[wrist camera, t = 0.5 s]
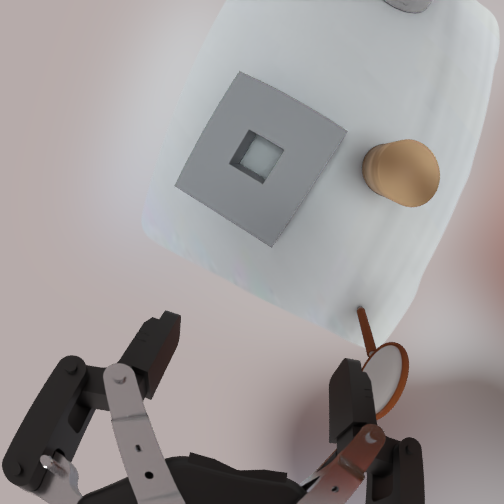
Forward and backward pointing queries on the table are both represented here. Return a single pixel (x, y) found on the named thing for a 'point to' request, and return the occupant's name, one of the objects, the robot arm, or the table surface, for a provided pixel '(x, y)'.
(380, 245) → the table surface
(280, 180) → the board
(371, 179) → the peg
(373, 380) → the magnifying glass
